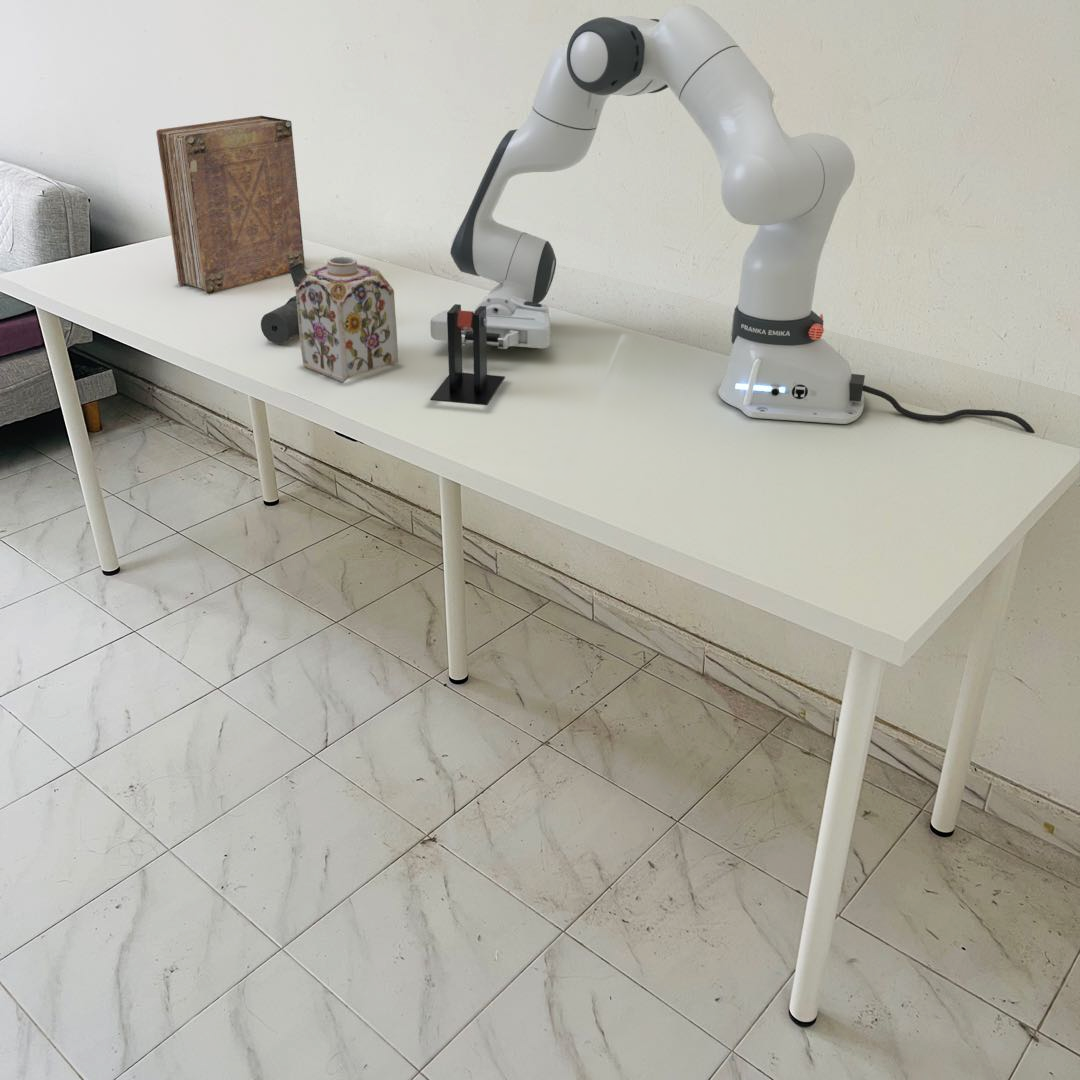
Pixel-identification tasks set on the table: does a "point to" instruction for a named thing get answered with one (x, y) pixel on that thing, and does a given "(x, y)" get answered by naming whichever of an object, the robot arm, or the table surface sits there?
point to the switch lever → (467, 324)
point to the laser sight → (284, 313)
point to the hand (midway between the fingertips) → (481, 342)
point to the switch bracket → (458, 383)
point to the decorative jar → (346, 319)
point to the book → (231, 201)
